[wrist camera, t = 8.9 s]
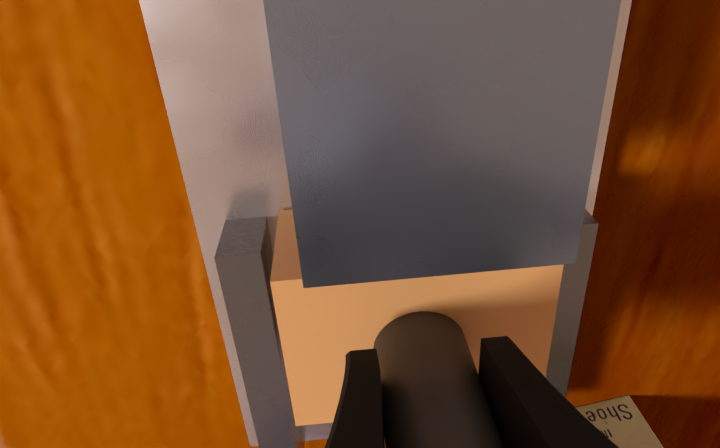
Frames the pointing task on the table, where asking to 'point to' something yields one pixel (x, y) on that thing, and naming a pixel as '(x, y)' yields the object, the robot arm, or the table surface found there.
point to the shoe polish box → (621, 423)
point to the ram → (409, 342)
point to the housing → (438, 131)
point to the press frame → (279, 193)
